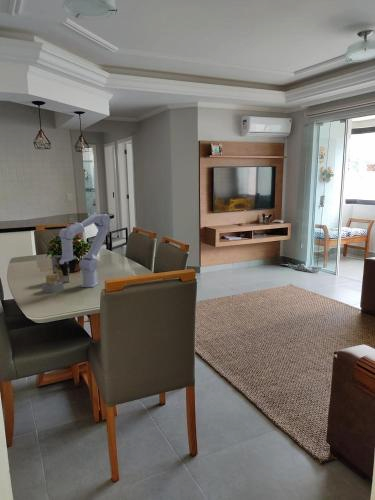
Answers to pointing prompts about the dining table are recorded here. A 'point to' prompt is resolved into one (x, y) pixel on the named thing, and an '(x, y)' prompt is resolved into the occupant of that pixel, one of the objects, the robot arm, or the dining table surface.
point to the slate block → (52, 287)
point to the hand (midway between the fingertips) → (68, 274)
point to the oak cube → (52, 279)
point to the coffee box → (59, 269)
